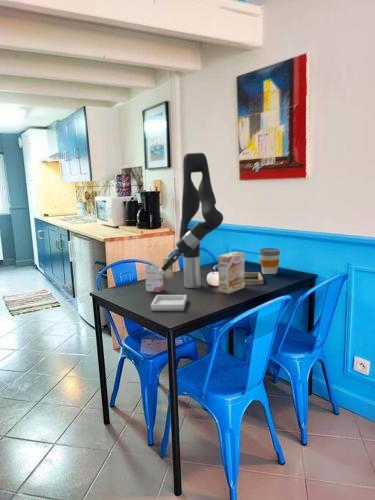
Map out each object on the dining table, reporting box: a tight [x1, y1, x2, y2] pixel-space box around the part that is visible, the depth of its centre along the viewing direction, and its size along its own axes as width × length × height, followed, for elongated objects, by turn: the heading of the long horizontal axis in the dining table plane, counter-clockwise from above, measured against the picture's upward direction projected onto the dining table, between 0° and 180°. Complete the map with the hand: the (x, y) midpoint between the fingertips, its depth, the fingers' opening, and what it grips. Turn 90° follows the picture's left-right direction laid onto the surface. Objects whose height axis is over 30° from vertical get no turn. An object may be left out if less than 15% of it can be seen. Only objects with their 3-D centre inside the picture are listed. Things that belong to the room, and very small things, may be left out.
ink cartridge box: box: [144, 264, 164, 293], centre depth 204 cm, size 9×5×15 cm, turn 70°
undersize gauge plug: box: [162, 256, 174, 279], centre depth 175 cm, size 4×4×9 cm
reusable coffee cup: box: [258, 247, 281, 275], centre depth 233 cm, size 12×13×15 cm
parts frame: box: [245, 271, 264, 286], centre depth 219 cm, size 19×19×2 cm
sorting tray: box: [150, 294, 188, 312], centre depth 178 cm, size 15×15×3 cm
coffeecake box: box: [217, 251, 246, 295], centre depth 200 cm, size 15×7×20 cm, turn 137°
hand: (164, 268), depth 176 cm, fingers closed on undersize gauge plug, 4 cm apart
